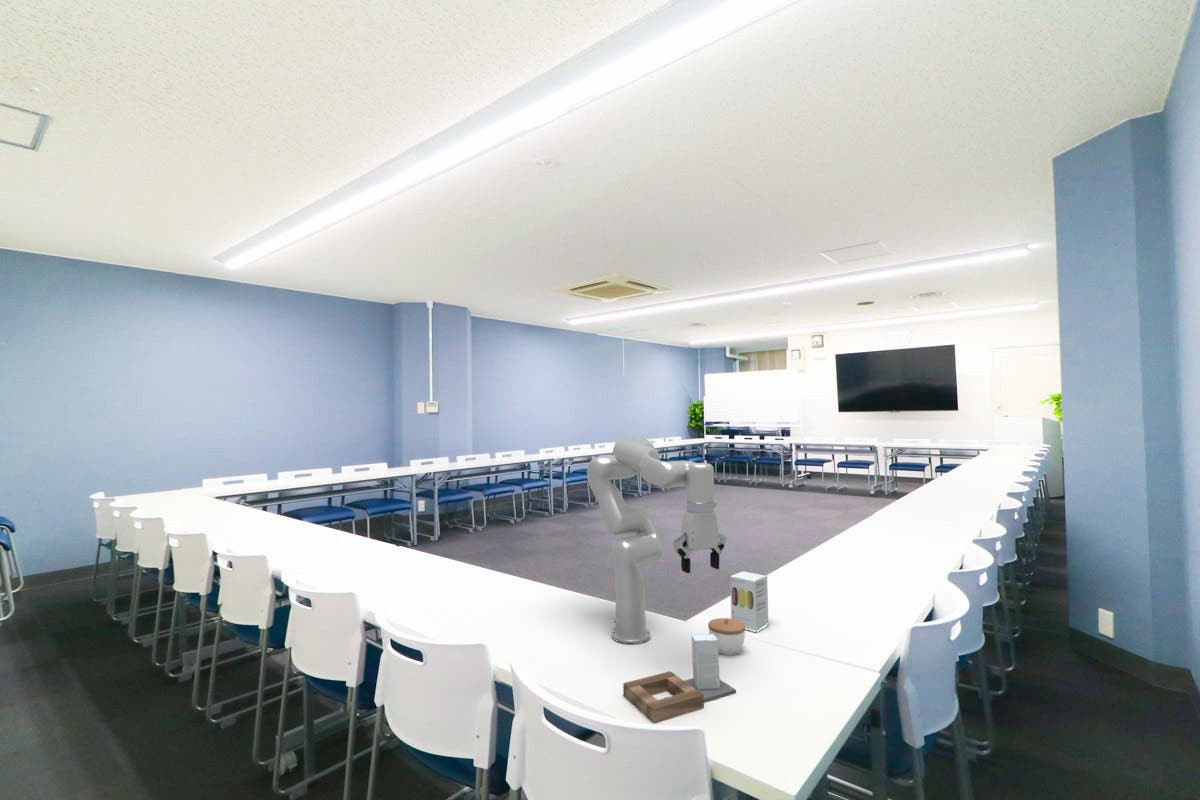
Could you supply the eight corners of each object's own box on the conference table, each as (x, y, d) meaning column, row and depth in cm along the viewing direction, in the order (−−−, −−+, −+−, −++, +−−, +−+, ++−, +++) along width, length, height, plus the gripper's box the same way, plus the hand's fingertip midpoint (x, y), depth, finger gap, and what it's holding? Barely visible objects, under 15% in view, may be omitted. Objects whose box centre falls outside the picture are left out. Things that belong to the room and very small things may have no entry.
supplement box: (730, 626, 173) (728, 575, 174) (743, 619, 180) (741, 570, 181) (757, 633, 167) (755, 580, 168) (769, 626, 173) (767, 575, 175)
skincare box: (715, 681, 133) (714, 633, 134) (720, 689, 129) (718, 639, 129) (692, 682, 133) (691, 634, 133) (696, 690, 128) (695, 640, 129)
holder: (623, 695, 128) (623, 683, 128) (670, 683, 134) (670, 671, 134) (653, 723, 115) (653, 709, 115) (703, 707, 121) (703, 694, 122)
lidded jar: (740, 661, 146) (739, 627, 147) (704, 654, 152) (703, 621, 152) (749, 647, 156) (748, 616, 156) (714, 641, 161) (714, 610, 162)
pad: (679, 685, 133) (679, 681, 133) (710, 676, 137) (710, 673, 137) (703, 702, 124) (703, 699, 124) (736, 693, 128) (735, 689, 128)
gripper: (716, 504, 150) (717, 563, 149) (666, 507, 143) (666, 570, 142) (733, 507, 143) (734, 569, 142) (682, 511, 136) (682, 577, 135)
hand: (700, 570), depth 142 cm, fingers open, 9 cm apart
